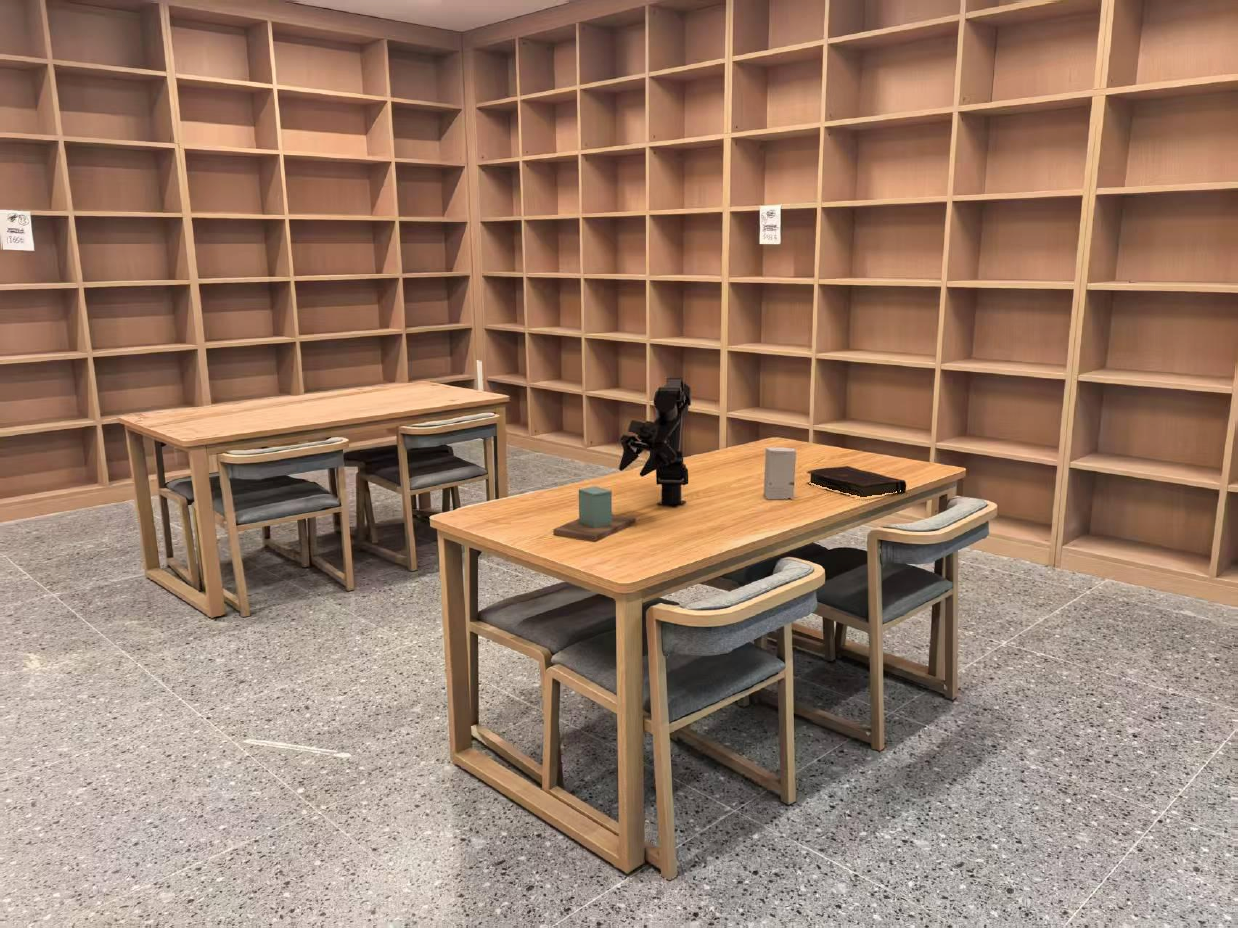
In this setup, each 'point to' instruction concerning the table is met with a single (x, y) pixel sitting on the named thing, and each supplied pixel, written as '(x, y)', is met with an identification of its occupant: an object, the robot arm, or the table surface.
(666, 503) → the robot arm
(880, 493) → the diary
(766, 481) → the skincare box
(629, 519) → the stud board
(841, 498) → the table surface
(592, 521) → the seafoam square prism
